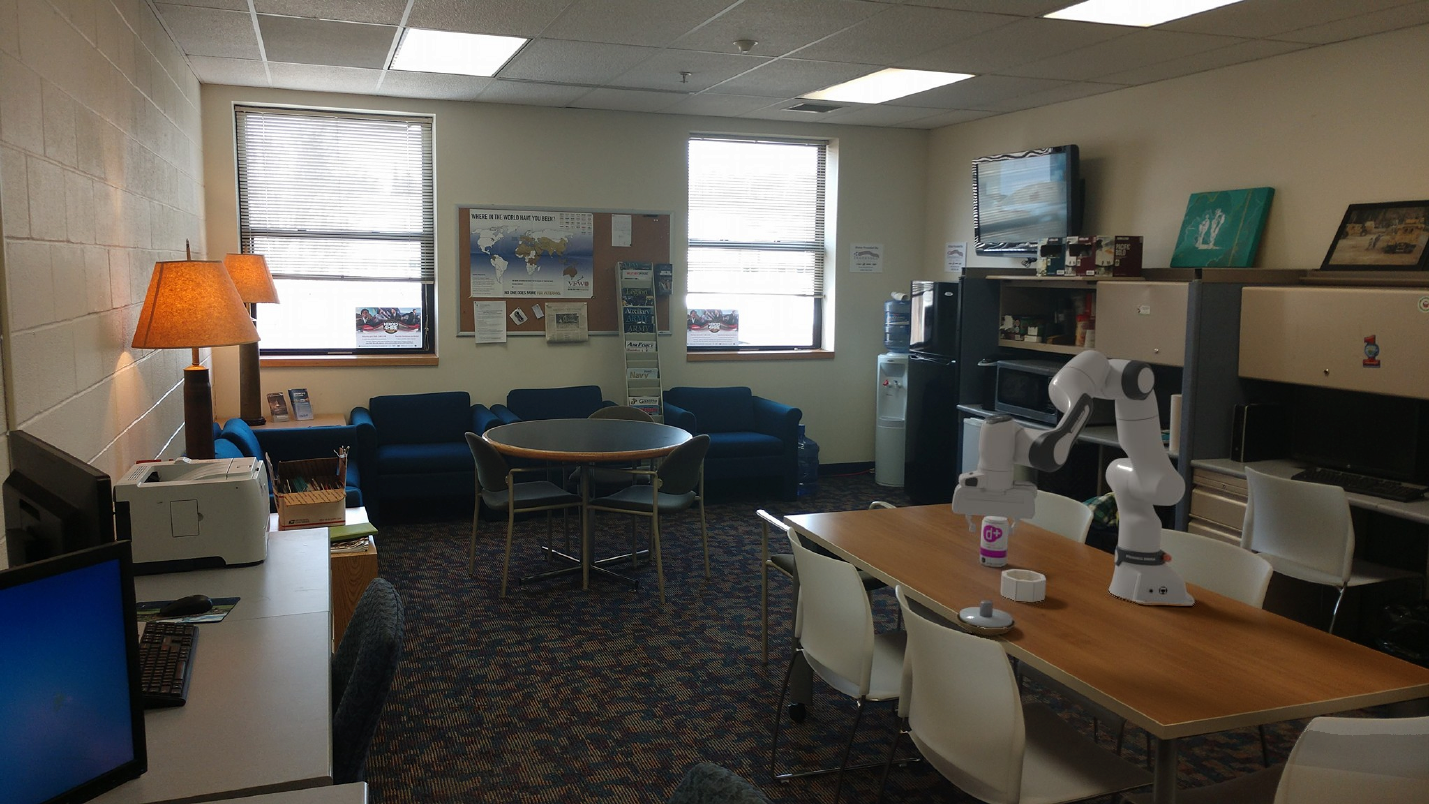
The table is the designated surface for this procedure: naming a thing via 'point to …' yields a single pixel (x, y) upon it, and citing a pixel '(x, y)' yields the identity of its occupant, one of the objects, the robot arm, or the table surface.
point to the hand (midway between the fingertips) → (991, 532)
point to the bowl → (1023, 585)
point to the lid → (986, 616)
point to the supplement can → (994, 541)
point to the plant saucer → (982, 630)
